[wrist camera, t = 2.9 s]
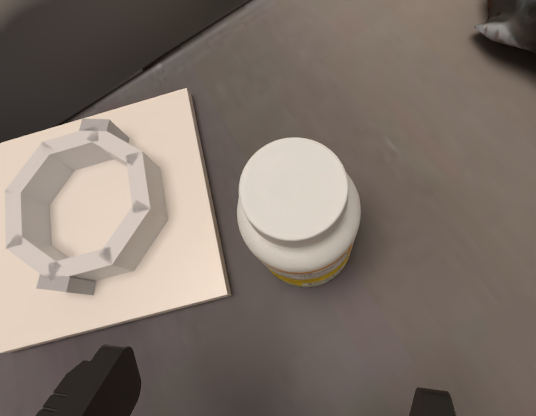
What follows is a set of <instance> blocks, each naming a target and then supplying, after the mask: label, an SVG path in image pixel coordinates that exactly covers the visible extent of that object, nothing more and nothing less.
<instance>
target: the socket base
mask: <svg viewBox="0 0 536 416" xmlns="http://www.w3.org/2000/svg"><path fill="white" fill-rule="evenodd" d="M228 296H231V291H230V286H229V281H228V276H227V271H226V266H225V261H224V256H223V251H222V246H221V241H220V236H219V231H218V226H217V221H216V216H215V211H214V206H213V201H212V196H211V191H210V186H209V181H208V176H207V171H206V166H205V161H204V156H203V151H202V146H201V141H200V136H199V131H198V126H197V121H196V116H195V111H194V106H193V101H192V96H191V94H190V93H189V91H188V89H187V88H185V89H181V90H178V91H175V92H171V93H168V94H165V95H161V96H158V97H154V98H151V99H148V100H144V101H141V102H138V103H134V104H131V105H127V106H124V107H121V108H117V109H114V110H111V111H107V112H104V113H100V114H97V115H94V116H90V117H87V118H82V119H80V120H77V121H73V122H70V123H67V124H63V125H60V126H57V127H53V128H50V129H46V130H43V131H40V132H37V133H33V134H30V135H26V136H23V137H19V138H16V139H13V140H9V141H6V142H3V143H0V353H6V352H14V351H18V350H21V349H25V348H29V347H33V346H37V345H41V344H45V343H49V342H53V341H57V340H61V339H64V338H68V337H72V336H76V335H80V334H84V333H88V332H92V331H96V330H100V329H103V328H107V327H111V326H115V325H119V324H123V323H127V322H131V321H135V320H139V319H143V318H146V317H150V316H154V315H158V314H162V313H166V312H170V311H174V310H178V309H182V308H185V307H189V306H193V305H197V304H201V303H205V302H209V301H213V300H217V299H221V298H225V297H228Z"/></svg>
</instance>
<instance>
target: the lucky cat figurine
mask: <svg viewBox="0 0 536 416" xmlns="http://www.w3.org/2000/svg"><path fill="white" fill-rule="evenodd" d="M488 6H489V18H488V21H487V22H486V23H485V24H480V25H475V26H474V27H475V28H476V29H477V30H479V31H480V32H481V33H482V34H483V35H484V36H486V37H487V38H489V39H490V40H492V41H494V42H498V43H502V44H506V45H509V46H513V47H517V48H521V49H525V50H528V51H530V52H533V53H536V0H488Z"/></svg>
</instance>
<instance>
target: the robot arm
mask: <svg viewBox="0 0 536 416" xmlns="http://www.w3.org/2000/svg"><path fill="white" fill-rule="evenodd" d="M140 390H141V378H140V375H139V371H138V367H137V363H136V360H135V356H134V352H133V349H132V348H131V347H127V346H120V345H113V344H104V345H103V346H102V347H101V348H100V349H99V350H98V352H97V353H96V354H95V356H94V357H93V359H92V360H91V361H82V362H81V363H80V364H79V365H77V366H76V367H75V368H74V369H72V370H71V371H70V372H69V373H67V374H66V376H65V377H64V378H63V380H62V381H61V382H60V384H59V385H58V386H57V388H56V389H55V390H54V393H53V395H51V396H50V397H49V399H48V400H47V401H46V403H45V404H44V405H43V409H42V410H40V411H39V412H38V413H37V415H36V416H130V415H131V413H132V411H133V409H134V407H135V405H136V403H137V401H138V398H139V395H140ZM409 416H456V414H455V411H454V407H453V403H452V399H451V396H450V394H449V393H448V392H447V391H440V390H433V389H426V388H417V389H416V391H415V395H414V399H413V403H412V407H411V411H410V415H409Z"/></svg>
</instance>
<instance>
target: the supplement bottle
mask: <svg viewBox="0 0 536 416" xmlns="http://www.w3.org/2000/svg"><path fill="white" fill-rule="evenodd" d="M360 218H361V205H360V199H359V195H358V192H357V189H356V187H355V185H354V183H353V181H352V180H351V178H350V177H349V175H348V174H347V173H346V171H345V169H344V167H343V165H342V163H341V162H340V160H339V158H338V157H337V156H336V155H335V154H334V153H333V152H332V151H331V150H330V149H328V148H327V147H326V146H324V145H322V144H321V143H318V142H316V141H313V140H310V139H305V138H284V139H279V140H276V141H274V142H271V143H269V144H267V145H265V146H264V147H262V148H261V149H259V150H258V151H257V152H256V153H255V154H254V155H253V156H252V157H251V158H250V160H249V161H248V162H247V164H246V166H245V168H244V170H243V172H242V175H241V178H240V182H239V199H238V206H237V219H238V225H239V229H240V232H241V235H242V237H243V239H244V241H245V243H246V245H247V246H248V248H249V249H250V250H251V251H252V253H253V254H254V255H255V256H256V257H257V258H258V259H259V260H260V261H261V262H262V263H263V264H264V265H265V266H266V267H267V268H268V269H269V270H270V271H271V272H272V273H273V274H274V275H275V276H276V277H277V278H279V279H280V280H282V281H284V282H286V283H288V284H290V285H294V286H299V287H313V286H318V285H321V284H324V283H326V282H328V281H330V280H331V279H333V278H334V277H335V276H336V275H338V274H339V273H340V272H341V270H342V269H343V268H344V266H345V265H346V263H347V261H348V258H349V256H350V253H351V249H352V246H353V243H354V240H355V237H356V235H357V232H358V228H359V224H360Z"/></svg>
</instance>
